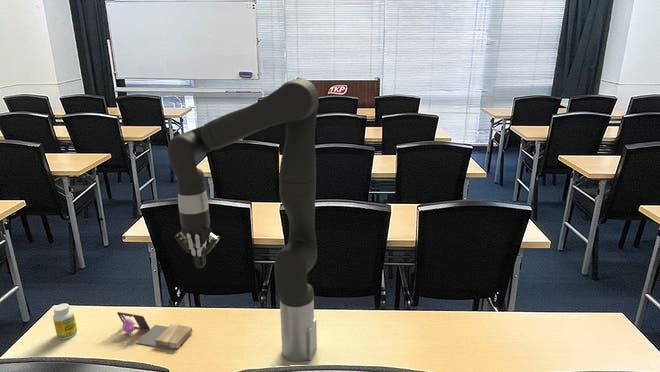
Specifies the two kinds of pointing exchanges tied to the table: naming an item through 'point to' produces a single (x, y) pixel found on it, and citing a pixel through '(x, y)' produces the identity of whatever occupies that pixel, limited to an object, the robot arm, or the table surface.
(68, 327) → the supplement bottle
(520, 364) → the table surface
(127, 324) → the purple toy case
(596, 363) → the table surface
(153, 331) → the felt mat
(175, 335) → the tile
